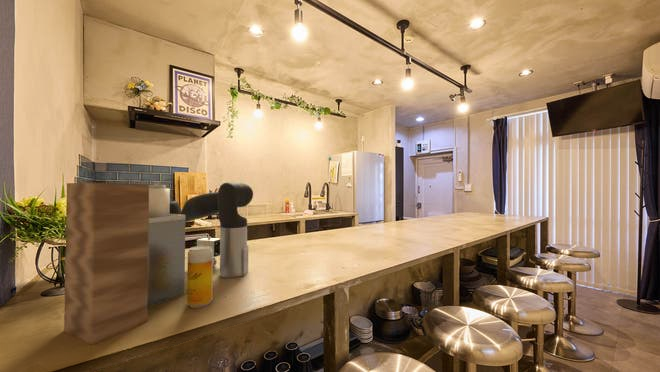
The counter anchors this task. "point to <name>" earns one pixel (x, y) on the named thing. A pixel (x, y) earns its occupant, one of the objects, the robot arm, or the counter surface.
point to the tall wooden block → (106, 259)
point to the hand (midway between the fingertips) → (117, 203)
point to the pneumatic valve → (210, 242)
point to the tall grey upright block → (166, 258)
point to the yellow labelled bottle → (200, 276)
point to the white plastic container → (159, 201)
